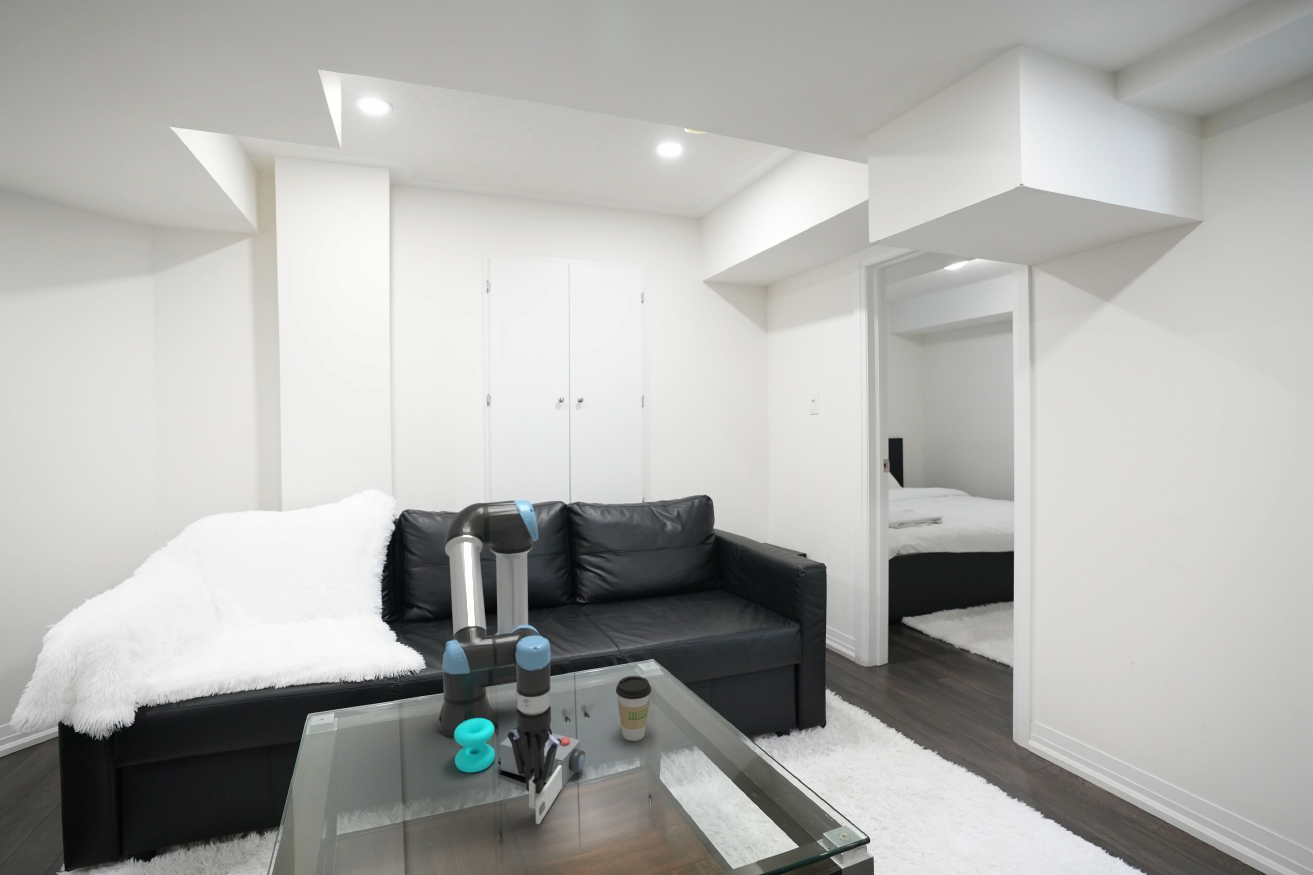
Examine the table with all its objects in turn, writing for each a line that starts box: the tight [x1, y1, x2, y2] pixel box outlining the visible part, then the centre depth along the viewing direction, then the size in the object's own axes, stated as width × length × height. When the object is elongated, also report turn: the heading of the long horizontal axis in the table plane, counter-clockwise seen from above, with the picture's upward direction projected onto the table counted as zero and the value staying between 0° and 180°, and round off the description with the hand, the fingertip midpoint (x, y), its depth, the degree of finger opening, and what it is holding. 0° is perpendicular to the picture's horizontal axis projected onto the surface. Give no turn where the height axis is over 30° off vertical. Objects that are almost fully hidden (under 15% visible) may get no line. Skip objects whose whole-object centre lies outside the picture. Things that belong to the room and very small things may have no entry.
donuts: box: [453, 718, 496, 773], centre depth 164 cm, size 10×10×10 cm
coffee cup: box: [615, 675, 652, 742], centre depth 177 cm, size 10×10×15 cm
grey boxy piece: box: [499, 732, 586, 788], centre depth 162 cm, size 20×9×8 cm, turn 68°
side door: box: [535, 761, 563, 825], centre depth 148 cm, size 14×2×6 cm, turn 165°
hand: (535, 804), depth 145 cm, fingers closed
